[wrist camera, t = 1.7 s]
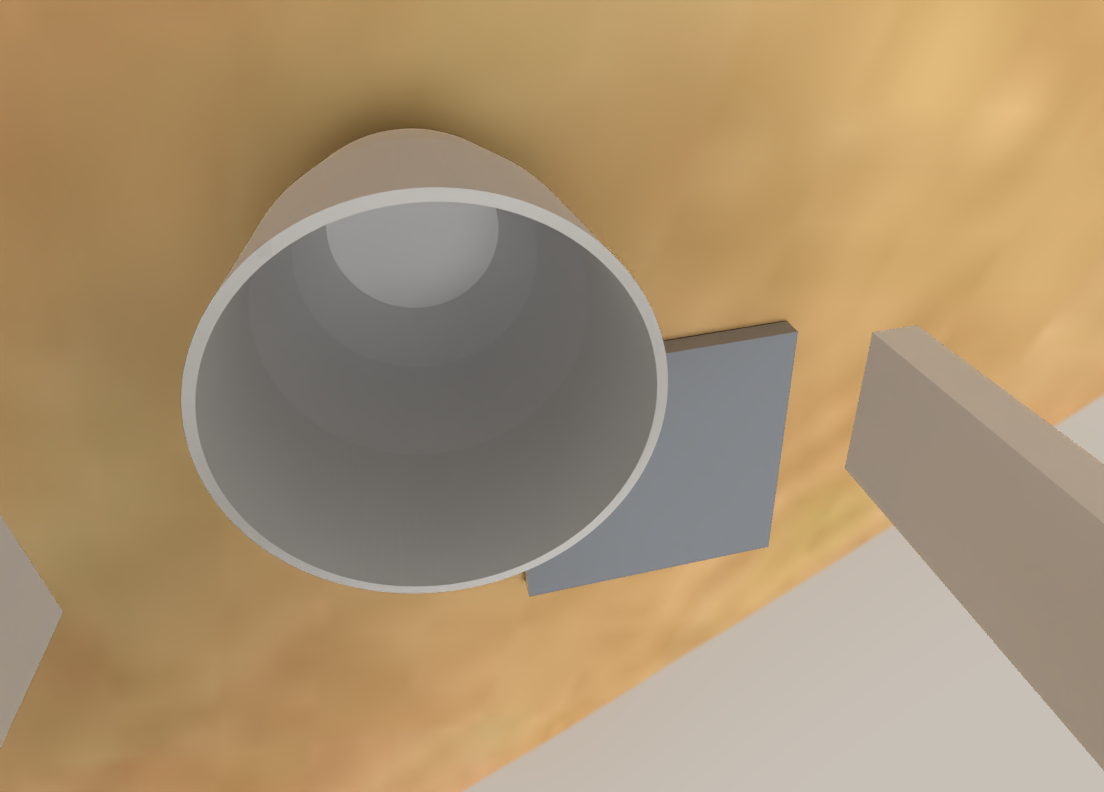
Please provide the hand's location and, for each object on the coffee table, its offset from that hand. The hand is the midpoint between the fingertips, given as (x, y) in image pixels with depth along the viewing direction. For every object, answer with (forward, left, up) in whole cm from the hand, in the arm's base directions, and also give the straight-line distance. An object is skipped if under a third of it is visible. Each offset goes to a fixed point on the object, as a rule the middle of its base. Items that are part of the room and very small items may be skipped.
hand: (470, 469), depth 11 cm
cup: (0, 0, -12) cm, 12 cm away
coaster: (+7, -10, -11) cm, 17 cm away
